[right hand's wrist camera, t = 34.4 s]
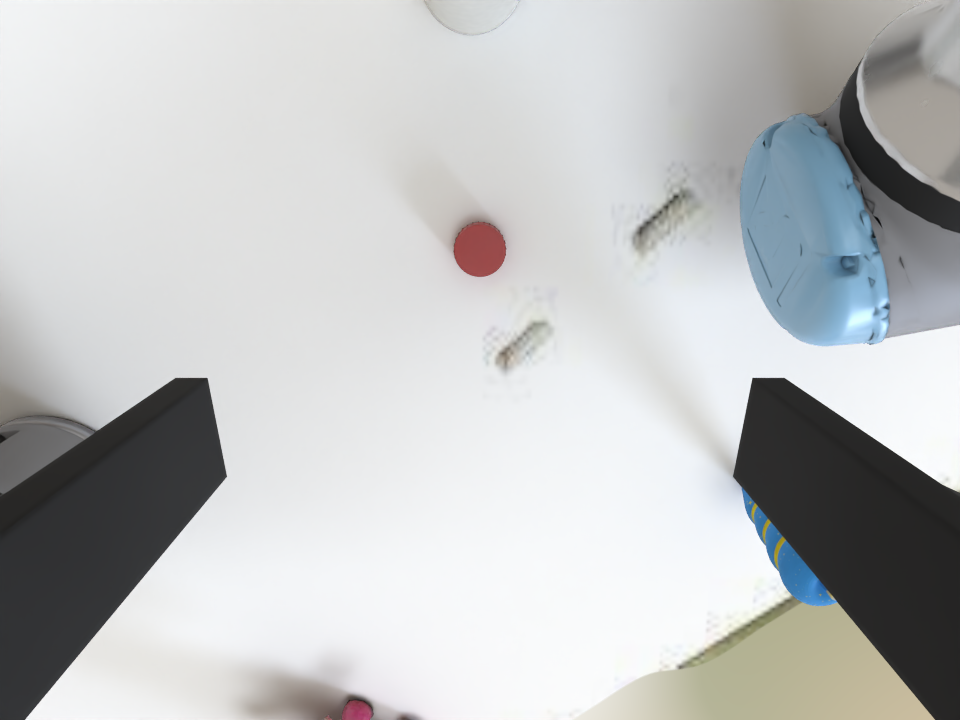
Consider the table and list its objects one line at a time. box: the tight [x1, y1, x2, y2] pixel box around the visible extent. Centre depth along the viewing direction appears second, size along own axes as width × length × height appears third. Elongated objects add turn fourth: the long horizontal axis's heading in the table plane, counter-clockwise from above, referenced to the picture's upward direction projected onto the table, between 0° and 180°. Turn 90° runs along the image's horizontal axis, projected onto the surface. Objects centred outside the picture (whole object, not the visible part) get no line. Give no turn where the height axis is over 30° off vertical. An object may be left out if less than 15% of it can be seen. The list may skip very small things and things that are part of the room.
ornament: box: [742, 488, 837, 606], centre depth 44 cm, size 5×5×15 cm
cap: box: [454, 222, 506, 277], centre depth 42 cm, size 4×4×2 cm
